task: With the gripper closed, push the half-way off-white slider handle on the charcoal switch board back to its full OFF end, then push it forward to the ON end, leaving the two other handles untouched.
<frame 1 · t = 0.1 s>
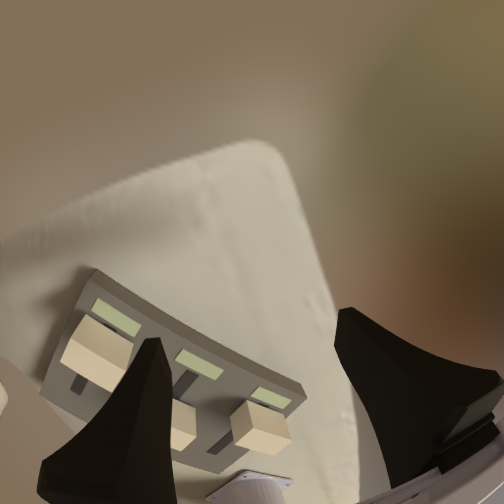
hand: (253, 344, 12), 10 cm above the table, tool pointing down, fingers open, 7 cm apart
breaker panel: (165, 391, 24), on the table
breaker c: (97, 353, 18), point 4 cm above the table, slide at 6.0 cm
breaker a: (260, 428, 22), point 4 cm above the table, slide at 6.0 cm
breaker tripped: (165, 420, 20), point 4 cm above the table, slide at 3.0 cm
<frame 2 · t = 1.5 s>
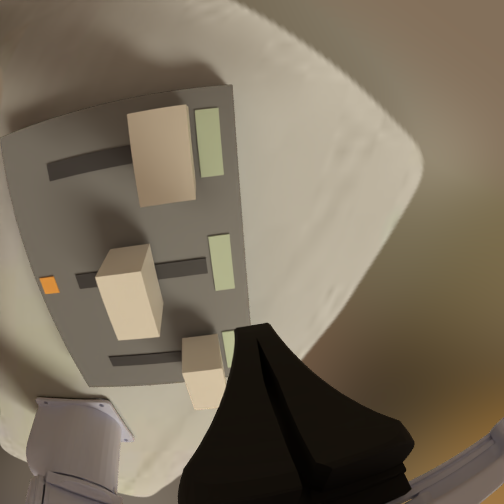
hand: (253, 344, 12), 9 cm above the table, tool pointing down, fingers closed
breaker panel: (135, 259, 19), on the table
breaker c: (165, 152, 13), point 4 cm above the table, slide at 6.0 cm
breaker a: (205, 373, 19), point 4 cm above the table, slide at 6.0 cm
breaker tripped: (132, 291, 16), point 4 cm above the table, slide at 3.0 cm
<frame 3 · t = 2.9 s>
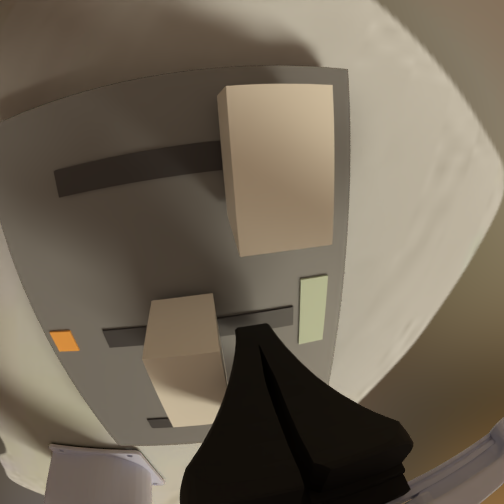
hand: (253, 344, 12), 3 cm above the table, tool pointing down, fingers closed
breaker panel: (185, 304, 14), on the table
breaker c: (270, 160, 8), point 4 cm above the table, slide at 6.0 cm
breaker tripped: (191, 363, 11), point 4 cm above the table, slide at 2.7 cm, touching gripper
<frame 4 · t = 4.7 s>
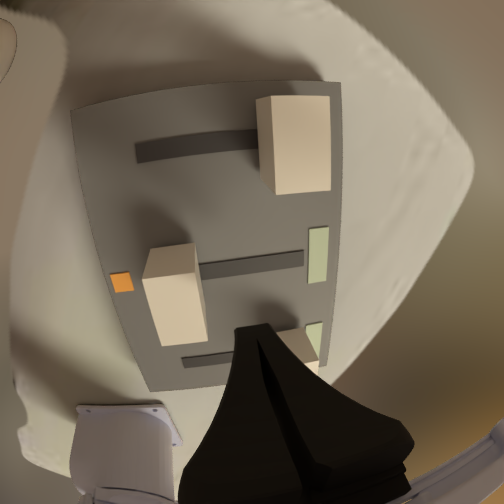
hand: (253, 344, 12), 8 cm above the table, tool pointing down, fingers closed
breaker panel: (220, 253, 19), on the table
breaker c: (291, 140, 13), point 4 cm above the table, slide at 6.0 cm
breaker a: (291, 367, 19), point 4 cm above the table, slide at 6.0 cm
breaker tripped: (177, 294, 15), point 4 cm above the table, slide at -0.1 cm
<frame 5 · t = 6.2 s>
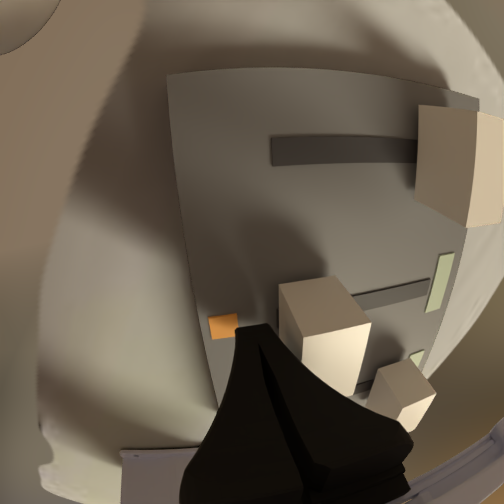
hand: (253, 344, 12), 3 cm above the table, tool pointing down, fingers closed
breaker panel: (336, 282, 15), on the table
breaker c: (463, 161, 9), point 4 cm above the table, slide at 6.0 cm
breaker a: (398, 401, 15), point 4 cm above the table, slide at 6.0 cm
breaker tripped: (318, 342, 11), point 4 cm above the table, slide at 0.0 cm, touching gripper
drinking glass: (23, 6, 7), on the table
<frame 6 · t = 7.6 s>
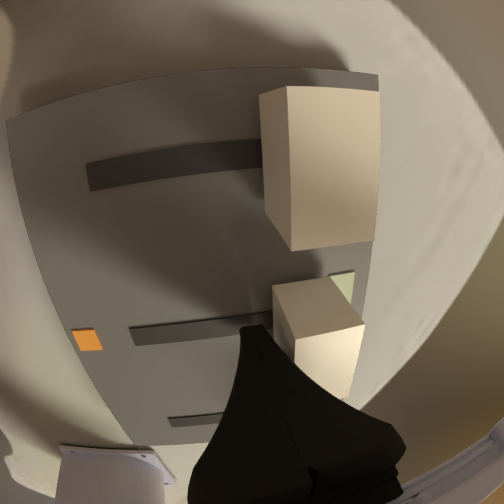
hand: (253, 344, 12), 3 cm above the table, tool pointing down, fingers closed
breaker panel: (212, 301, 15), on the table
breaker c: (314, 159, 8), point 4 cm above the table, slide at 6.0 cm
breaker tripped: (312, 344, 11), point 4 cm above the table, slide at 6.2 cm, touching gripper
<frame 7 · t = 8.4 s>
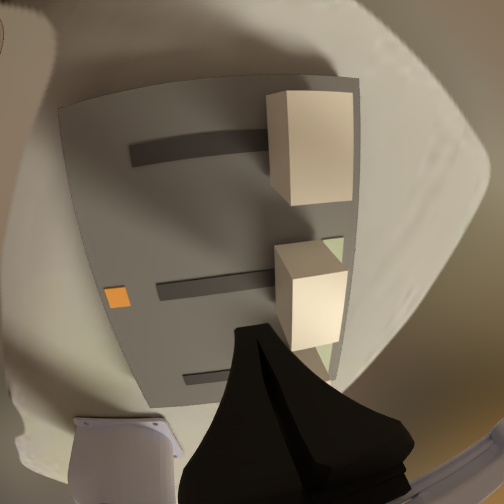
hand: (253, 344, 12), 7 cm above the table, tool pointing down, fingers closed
breaker panel: (225, 265, 17), on the table
breaker c: (307, 142, 11), point 4 cm above the table, slide at 6.0 cm
breaker a: (300, 385, 17), point 4 cm above the table, slide at 6.0 cm
breaker tripped: (307, 294, 14), point 4 cm above the table, slide at 6.1 cm
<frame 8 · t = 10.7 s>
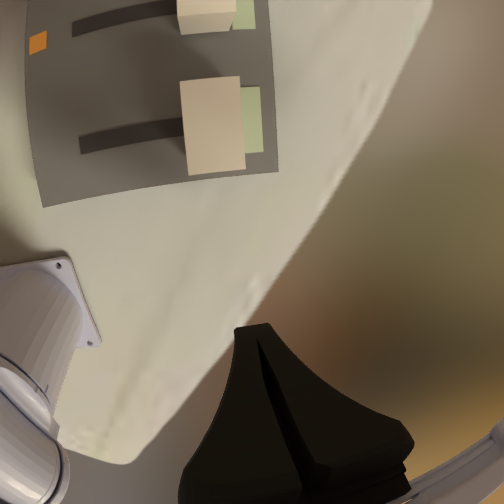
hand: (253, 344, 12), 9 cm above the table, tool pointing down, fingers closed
breaker panel: (142, 22, 13), on the table
breaker a: (211, 124, 13), point 4 cm above the table, slide at 6.0 cm
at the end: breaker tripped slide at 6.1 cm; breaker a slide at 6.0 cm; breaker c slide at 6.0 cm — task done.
